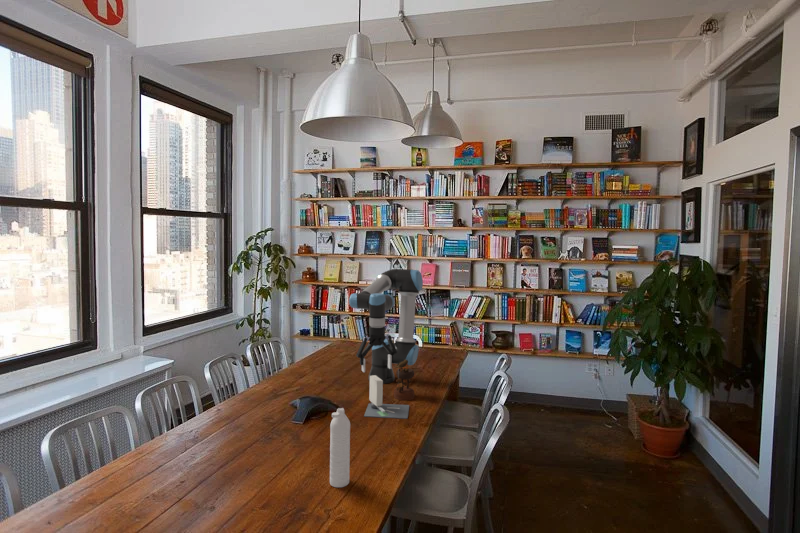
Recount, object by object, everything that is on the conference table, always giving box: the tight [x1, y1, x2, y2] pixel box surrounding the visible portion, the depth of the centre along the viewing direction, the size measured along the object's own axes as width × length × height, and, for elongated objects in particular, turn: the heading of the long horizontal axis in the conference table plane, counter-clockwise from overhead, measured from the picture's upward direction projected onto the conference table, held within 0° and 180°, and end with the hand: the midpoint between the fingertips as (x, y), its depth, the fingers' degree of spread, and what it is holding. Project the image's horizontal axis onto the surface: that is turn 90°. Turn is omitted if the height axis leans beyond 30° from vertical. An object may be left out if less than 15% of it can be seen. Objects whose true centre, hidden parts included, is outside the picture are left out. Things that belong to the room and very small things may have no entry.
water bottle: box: [329, 407, 351, 488], centre depth 146 cm, size 9×6×25 cm
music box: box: [393, 360, 415, 401], centre depth 231 cm, size 15×11×20 cm
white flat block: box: [368, 375, 385, 413], centre depth 211 cm, size 4×14×14 cm, turn 26°
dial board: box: [363, 402, 410, 420], centre depth 211 cm, size 16×20×1 cm
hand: (376, 369), depth 213 cm, fingers open, 13 cm apart
